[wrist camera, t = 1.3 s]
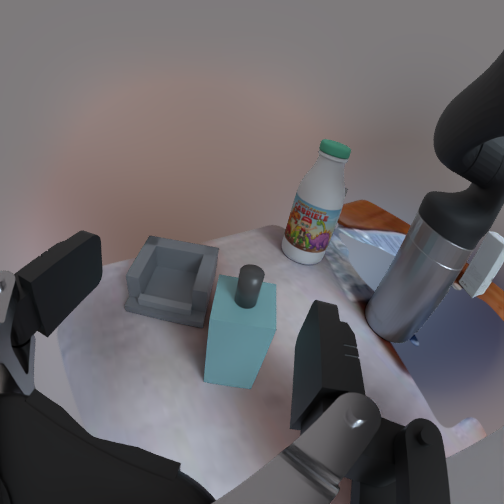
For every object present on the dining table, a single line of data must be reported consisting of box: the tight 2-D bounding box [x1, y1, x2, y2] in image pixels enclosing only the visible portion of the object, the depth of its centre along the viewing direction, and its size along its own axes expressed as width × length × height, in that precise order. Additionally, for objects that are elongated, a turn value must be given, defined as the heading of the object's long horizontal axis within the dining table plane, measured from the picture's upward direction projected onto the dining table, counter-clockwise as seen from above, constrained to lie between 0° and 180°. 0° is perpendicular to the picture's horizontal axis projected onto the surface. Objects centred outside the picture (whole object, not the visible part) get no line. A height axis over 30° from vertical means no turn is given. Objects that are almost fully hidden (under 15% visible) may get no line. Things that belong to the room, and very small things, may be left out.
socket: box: [125, 236, 219, 328], centre depth 34 cm, size 10×10×4 cm
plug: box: [204, 265, 276, 389], centre depth 24 cm, size 5×5×14 cm
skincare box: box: [459, 231, 504, 298], centre depth 46 cm, size 8×6×15 cm
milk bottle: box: [282, 139, 351, 265], centre depth 43 cm, size 8×8×20 cm
